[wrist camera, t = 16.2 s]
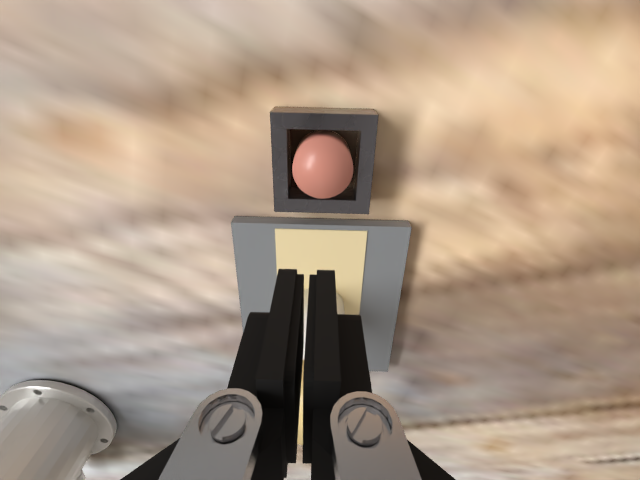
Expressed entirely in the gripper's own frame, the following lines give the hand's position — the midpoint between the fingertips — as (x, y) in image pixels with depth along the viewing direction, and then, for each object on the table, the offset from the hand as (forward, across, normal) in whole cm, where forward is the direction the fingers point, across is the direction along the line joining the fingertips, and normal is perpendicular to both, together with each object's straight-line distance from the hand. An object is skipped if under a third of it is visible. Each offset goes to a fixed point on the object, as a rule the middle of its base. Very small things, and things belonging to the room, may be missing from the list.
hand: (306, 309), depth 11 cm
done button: (+17, 0, 0) cm, 17 cm away
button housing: (+17, 0, 0) cm, 17 cm away
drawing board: (+17, 0, +13) cm, 21 cm away
